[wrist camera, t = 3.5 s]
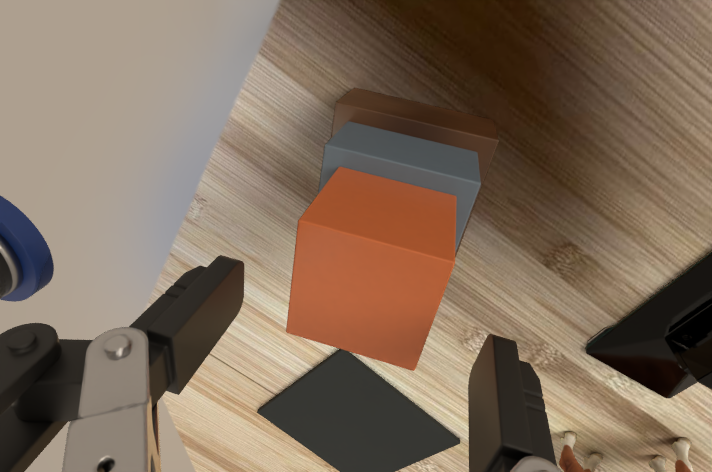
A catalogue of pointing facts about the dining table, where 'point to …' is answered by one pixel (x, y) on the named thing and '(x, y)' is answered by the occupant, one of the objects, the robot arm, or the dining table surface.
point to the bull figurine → (589, 464)
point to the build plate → (665, 335)
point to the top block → (372, 266)
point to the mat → (356, 418)
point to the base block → (420, 124)
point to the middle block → (406, 164)
